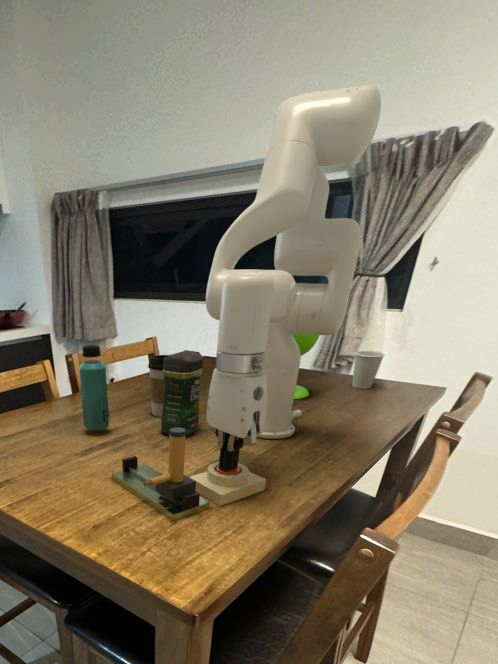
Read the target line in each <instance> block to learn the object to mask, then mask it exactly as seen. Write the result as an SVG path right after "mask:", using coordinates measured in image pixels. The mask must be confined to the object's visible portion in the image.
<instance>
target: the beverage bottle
mask: <svg viewBox="0 0 498 664" xmlns="http://www.w3.org/2000/svg"><path fill="white" fill-rule="evenodd" d="M101 356H102V354H101V347H100V346H99V345H96V344H89V345H83V346H82V357H83V358H97V357H101ZM78 370H79V380H80V391H81V393H80V394H81V405H82V406H81V407H82V420H83V425H84V428H86V429H88V430H92V431H99V430H104V429H107V428H108V427H109V425H110V414H109V395H108V383H107V366H106V364H105V363H104V362H103V361H101V360H98V359H90V360H83V362H82V363H81V364H80V365H79V368H78Z"/></svg>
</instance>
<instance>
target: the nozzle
mask: <svg viewBox="0 0 498 664" xmlns="http://www.w3.org/2000/svg"><path fill="white" fill-rule="evenodd" d="M168 440H169V441H168V471H167V472H168V473H165V474H163V475H161V476H158V477H154V478H151V479H149V481H146V482H144V486H148V485H150V486H153V485H156V491H157V492H159V494H160V495H162V496H164V497H165V498H167V499H168V500H170V501H171V502H173V503H174V504H178V499H181V498H182V496H184V495H187V494H190V493H193V492H195V491H196V481H195V480H193V479H191V478H189V477H190V476H187V475H186V474H184V473H185V457H186V456H185V455H186V454H185V453H186V430H185V429H184V428H180V427H175V428H171V429H170V436H169V439H168Z"/></svg>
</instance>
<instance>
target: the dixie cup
mask: <svg viewBox="0 0 498 664" xmlns="http://www.w3.org/2000/svg"><path fill="white" fill-rule="evenodd" d="M384 357H385V353H383V352H381V351H375V350H359V351H356V352H355V353H354V366H353V374H352V383H351V387H352V388H356V389H362V390H363V389H367V390H368V389H371V388H372V386H373V383H374V382H375V379H376V376H377V373H378V371H379V368H380V366H381V365H382V361H383V358H384Z"/></svg>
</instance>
